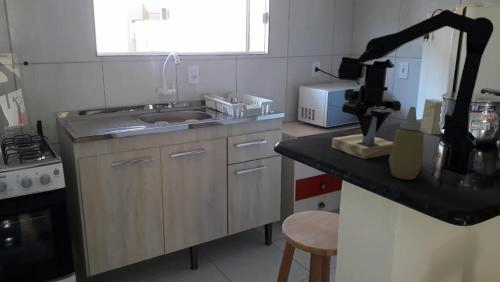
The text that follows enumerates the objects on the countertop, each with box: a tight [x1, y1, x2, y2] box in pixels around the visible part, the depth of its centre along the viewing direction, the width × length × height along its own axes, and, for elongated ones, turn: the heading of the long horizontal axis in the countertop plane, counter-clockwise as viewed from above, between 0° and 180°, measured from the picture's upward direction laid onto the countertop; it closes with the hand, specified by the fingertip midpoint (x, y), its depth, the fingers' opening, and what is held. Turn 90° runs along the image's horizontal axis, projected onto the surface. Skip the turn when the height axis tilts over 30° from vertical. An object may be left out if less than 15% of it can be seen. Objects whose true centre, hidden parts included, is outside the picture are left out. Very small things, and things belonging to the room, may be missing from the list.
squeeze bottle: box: [388, 106, 424, 181], centre depth 104 cm, size 8×8×18 cm
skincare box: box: [419, 98, 443, 136], centre depth 153 cm, size 6×4×12 cm
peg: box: [362, 116, 377, 145], centre depth 123 cm, size 4×4×8 cm
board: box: [331, 133, 393, 160], centre depth 129 cm, size 14×14×3 cm
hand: (369, 135), depth 124 cm, fingers closed on peg, 3 cm apart
